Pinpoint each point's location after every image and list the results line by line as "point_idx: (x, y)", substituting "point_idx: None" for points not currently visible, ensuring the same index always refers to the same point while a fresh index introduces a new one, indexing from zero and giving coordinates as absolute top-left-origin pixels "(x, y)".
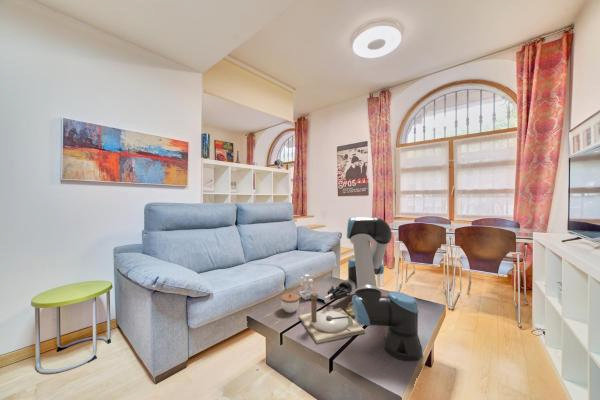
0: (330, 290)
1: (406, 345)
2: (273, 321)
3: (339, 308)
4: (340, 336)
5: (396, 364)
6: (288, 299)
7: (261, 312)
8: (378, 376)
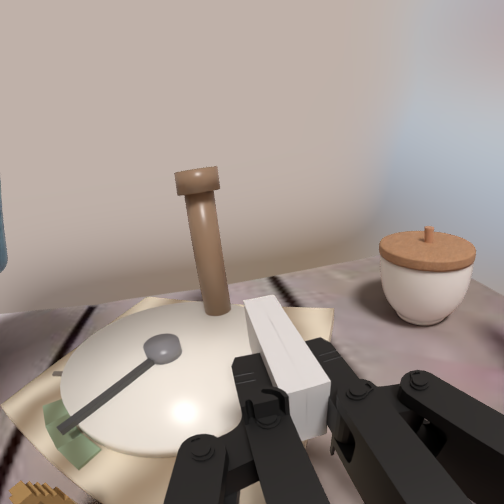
0: (475, 427)
1: None
2: (348, 272)
3: None
4: None
5: None
6: (396, 237)
7: None
8: (8, 320)
